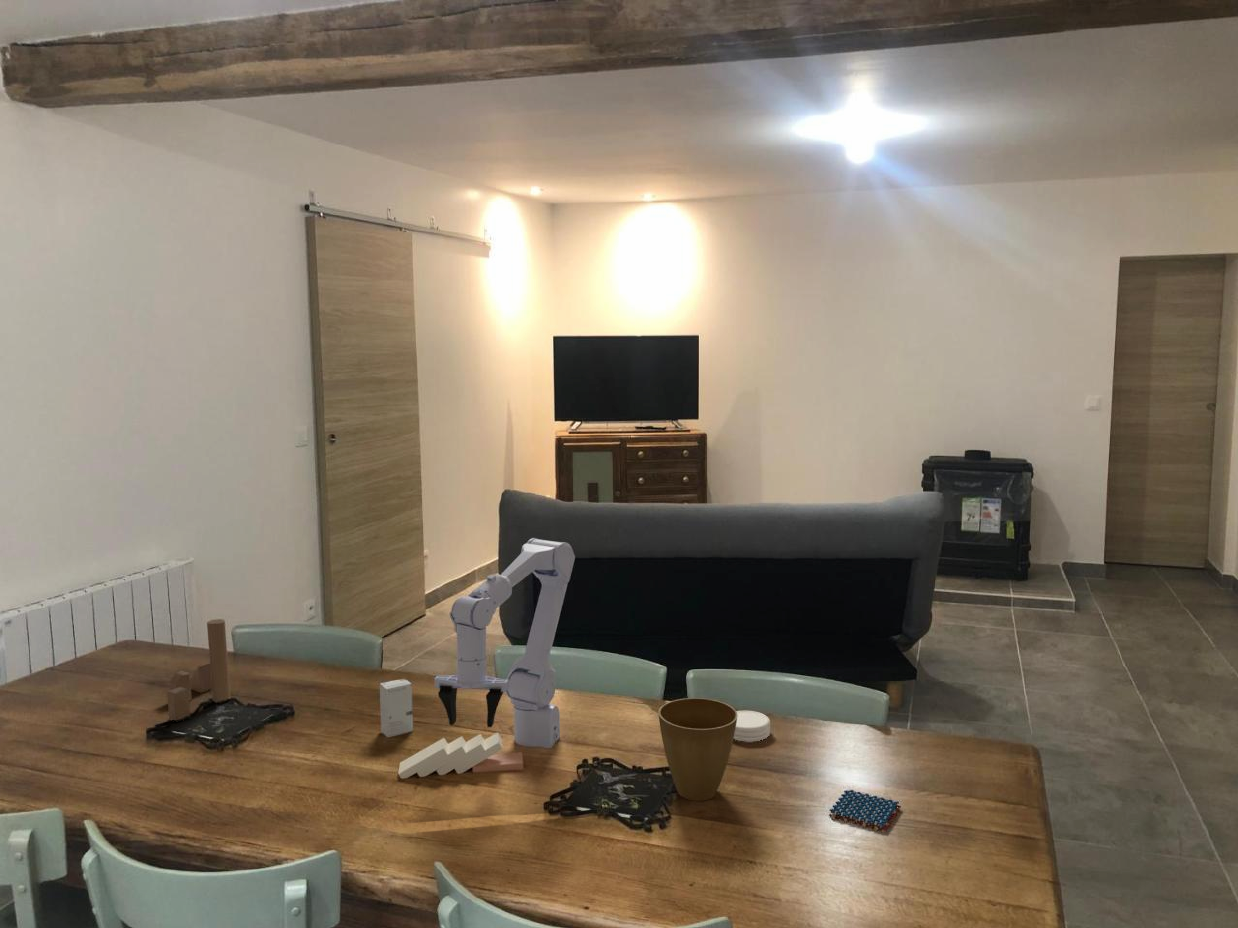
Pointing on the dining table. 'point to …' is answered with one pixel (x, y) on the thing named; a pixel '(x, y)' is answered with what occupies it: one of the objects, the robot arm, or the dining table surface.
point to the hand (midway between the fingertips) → (471, 724)
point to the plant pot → (697, 744)
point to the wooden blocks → (202, 675)
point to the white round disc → (751, 726)
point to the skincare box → (396, 707)
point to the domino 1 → (423, 758)
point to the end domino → (500, 762)
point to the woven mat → (865, 810)
